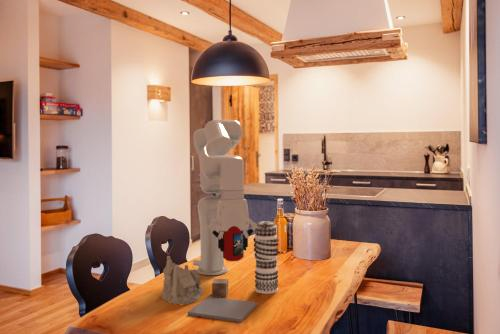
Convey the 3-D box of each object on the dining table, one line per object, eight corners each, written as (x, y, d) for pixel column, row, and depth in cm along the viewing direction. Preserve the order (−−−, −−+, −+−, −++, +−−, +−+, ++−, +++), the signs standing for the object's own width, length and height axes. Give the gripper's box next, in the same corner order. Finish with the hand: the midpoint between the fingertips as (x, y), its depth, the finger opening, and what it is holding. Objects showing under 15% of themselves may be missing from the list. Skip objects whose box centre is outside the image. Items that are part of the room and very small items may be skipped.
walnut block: (212, 297, 157) (211, 283, 156) (214, 292, 162) (214, 278, 161) (226, 297, 156) (226, 283, 156) (228, 292, 161) (228, 279, 161)
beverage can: (241, 262, 140) (241, 224, 140) (220, 261, 142) (220, 224, 141) (245, 257, 147) (245, 221, 146) (225, 256, 148) (225, 220, 147)
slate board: (187, 315, 140) (187, 311, 140) (208, 299, 154) (208, 296, 154) (240, 322, 134) (240, 319, 134) (257, 305, 148) (257, 302, 148)
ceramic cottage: (174, 307, 147) (175, 261, 147) (155, 295, 161) (156, 253, 161) (215, 300, 156) (216, 257, 156) (194, 289, 169) (194, 250, 169)
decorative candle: (261, 295, 157) (260, 225, 156) (249, 288, 165) (248, 221, 164) (283, 291, 161) (283, 222, 160) (271, 284, 169) (270, 219, 168)
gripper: (205, 197, 138) (206, 254, 139) (261, 195, 141) (261, 251, 142) (204, 194, 145) (205, 248, 147) (257, 193, 148) (257, 246, 149)
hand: (233, 249), depth 144 cm, fingers closed on beverage can, 6 cm apart
